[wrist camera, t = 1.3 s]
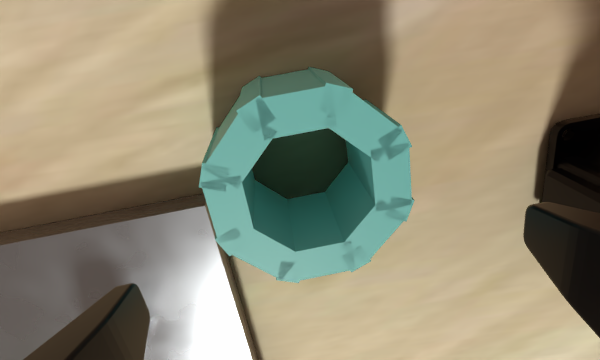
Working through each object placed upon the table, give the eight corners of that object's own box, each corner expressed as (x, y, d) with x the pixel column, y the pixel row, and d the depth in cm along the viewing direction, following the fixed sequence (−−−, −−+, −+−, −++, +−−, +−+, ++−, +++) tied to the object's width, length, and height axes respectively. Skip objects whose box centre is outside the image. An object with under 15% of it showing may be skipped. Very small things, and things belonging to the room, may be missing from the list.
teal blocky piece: (369, 55, 14) (408, 67, 10) (382, 206, 17) (416, 259, 13) (197, 87, 14) (174, 111, 10) (238, 235, 16) (232, 296, 13)
